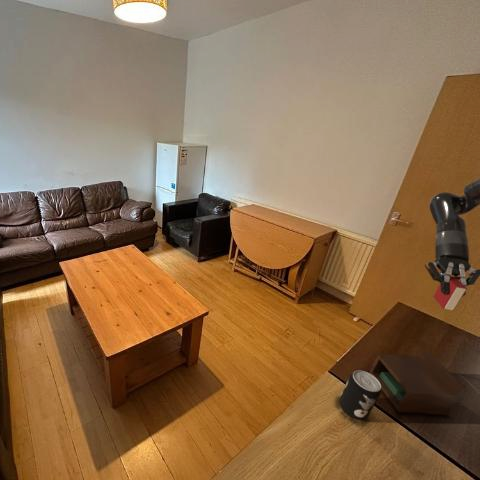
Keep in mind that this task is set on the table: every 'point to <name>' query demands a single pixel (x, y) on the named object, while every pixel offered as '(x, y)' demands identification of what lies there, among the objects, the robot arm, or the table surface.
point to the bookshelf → (417, 383)
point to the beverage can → (360, 395)
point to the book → (455, 294)
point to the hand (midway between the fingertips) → (453, 295)
